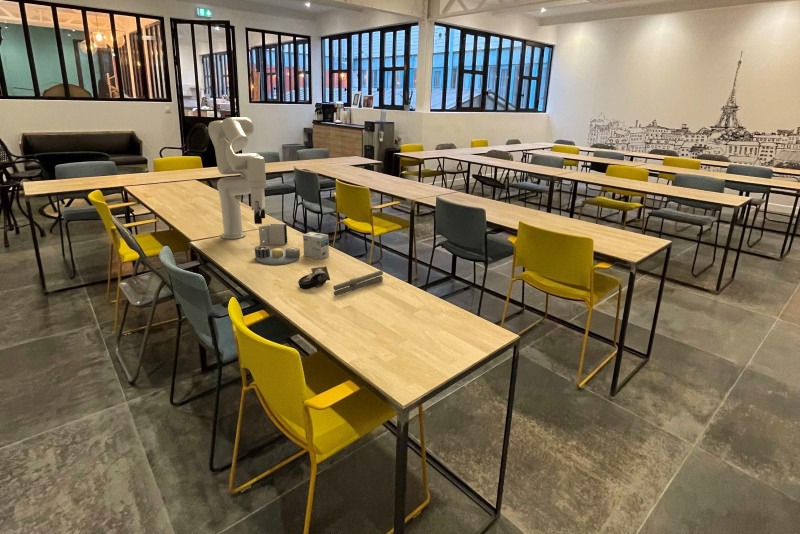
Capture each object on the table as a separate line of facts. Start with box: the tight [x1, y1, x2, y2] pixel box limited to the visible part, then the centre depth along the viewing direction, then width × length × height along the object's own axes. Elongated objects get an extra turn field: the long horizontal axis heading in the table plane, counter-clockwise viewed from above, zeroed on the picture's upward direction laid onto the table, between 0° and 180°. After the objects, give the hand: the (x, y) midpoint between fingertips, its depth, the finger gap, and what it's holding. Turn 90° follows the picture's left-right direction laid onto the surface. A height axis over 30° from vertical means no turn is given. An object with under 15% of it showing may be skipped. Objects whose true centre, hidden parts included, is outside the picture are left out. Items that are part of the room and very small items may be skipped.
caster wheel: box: [297, 265, 331, 291], centre depth 189 cm, size 7×11×10 cm
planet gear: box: [254, 245, 271, 258], centre depth 218 cm, size 7×7×4 cm
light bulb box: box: [302, 231, 330, 260], centre depth 223 cm, size 11×7×11 cm, turn 65°
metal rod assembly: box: [333, 269, 384, 297], centre depth 189 cm, size 26×3×5 cm, turn 136°
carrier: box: [255, 247, 301, 266], centre depth 219 cm, size 20×20×4 cm
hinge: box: [258, 223, 288, 246], centre depth 239 cm, size 14×5×10 cm, turn 106°
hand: (260, 220), depth 213 cm, fingers open, 9 cm apart
